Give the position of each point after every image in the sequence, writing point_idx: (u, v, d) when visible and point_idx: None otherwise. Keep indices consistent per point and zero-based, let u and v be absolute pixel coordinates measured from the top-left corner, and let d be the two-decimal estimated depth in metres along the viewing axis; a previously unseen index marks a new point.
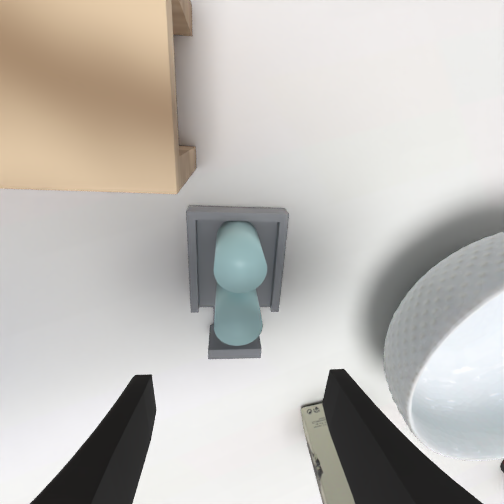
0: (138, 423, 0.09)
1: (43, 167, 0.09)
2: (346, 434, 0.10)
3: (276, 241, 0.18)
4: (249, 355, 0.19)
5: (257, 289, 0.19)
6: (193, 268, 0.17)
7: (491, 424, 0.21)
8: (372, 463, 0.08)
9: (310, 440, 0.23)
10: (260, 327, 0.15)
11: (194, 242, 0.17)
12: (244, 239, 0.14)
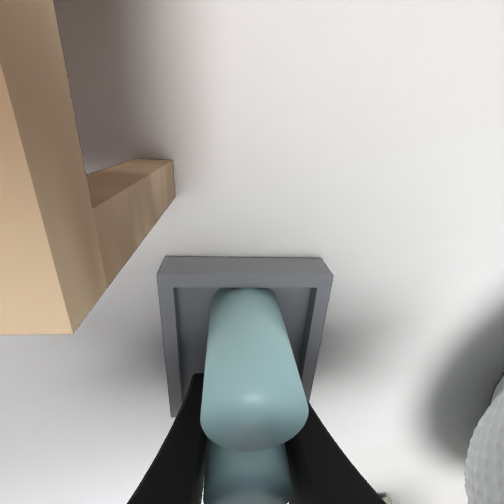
0: None
1: None
2: None
3: (307, 312, 0.11)
4: None
5: None
6: (172, 358, 0.11)
7: None
8: (299, 468, 0.08)
9: None
10: (289, 494, 0.08)
11: (173, 320, 0.10)
12: (263, 351, 0.07)
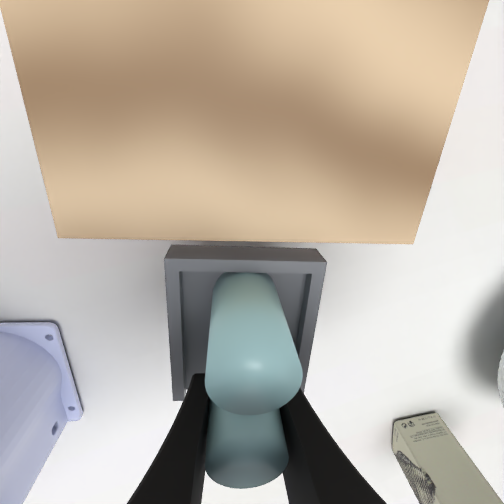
0: (206, 420, 0.09)
1: (307, 223, 0.10)
2: None
3: (303, 299, 0.12)
4: None
5: None
6: (176, 341, 0.11)
7: None
8: (299, 468, 0.08)
9: (413, 454, 0.24)
10: (284, 462, 0.09)
11: (178, 303, 0.11)
12: (262, 321, 0.08)
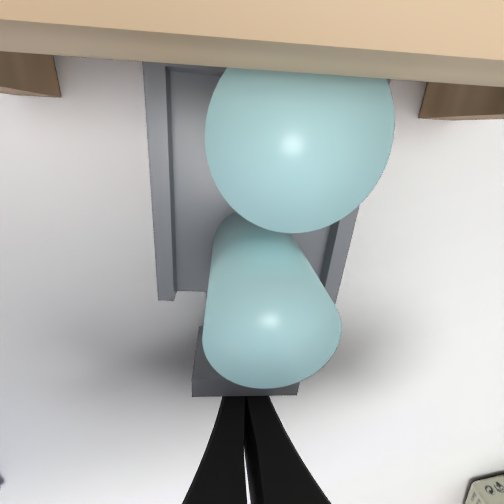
0: None
1: None
2: (248, 439, 0.09)
3: None
4: (275, 390, 0.09)
5: None
6: (162, 199, 0.08)
7: None
8: (256, 470, 0.08)
9: None
10: (333, 342, 0.05)
11: (164, 130, 0.07)
12: None
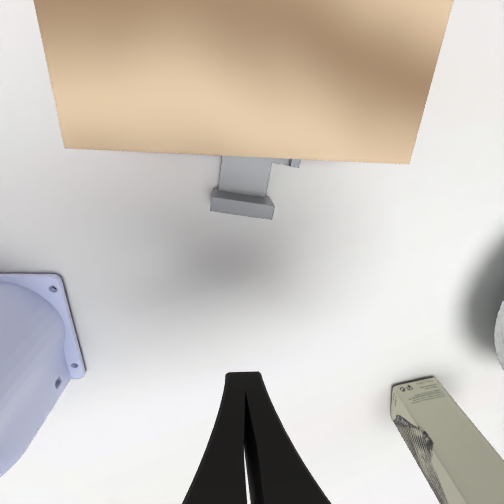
0: None
1: (306, 138, 0.10)
2: (248, 439, 0.09)
3: None
4: (259, 213, 0.16)
5: None
6: None
7: None
8: (256, 470, 0.08)
9: (411, 414, 0.24)
10: None
11: None
12: None
